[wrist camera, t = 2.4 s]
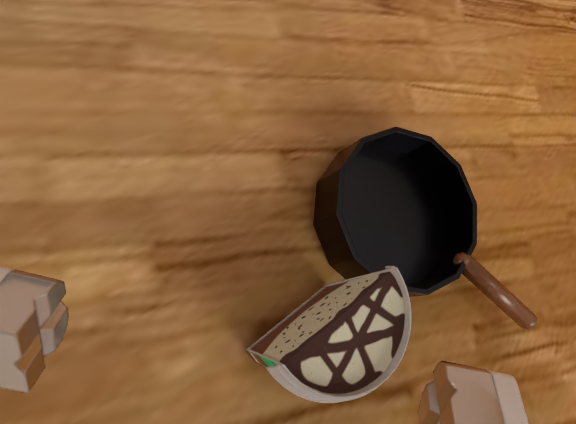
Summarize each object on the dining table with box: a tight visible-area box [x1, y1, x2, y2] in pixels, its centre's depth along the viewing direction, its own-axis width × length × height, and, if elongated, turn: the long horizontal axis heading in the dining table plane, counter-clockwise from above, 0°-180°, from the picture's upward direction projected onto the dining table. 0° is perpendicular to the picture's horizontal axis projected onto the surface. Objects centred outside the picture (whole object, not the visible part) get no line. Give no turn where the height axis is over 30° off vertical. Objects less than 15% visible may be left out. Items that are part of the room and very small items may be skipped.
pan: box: [313, 127, 537, 329], centre depth 49 cm, size 25×15×5 cm, turn 53°
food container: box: [246, 266, 411, 403], centre depth 40 cm, size 12×6×10 cm, turn 126°
